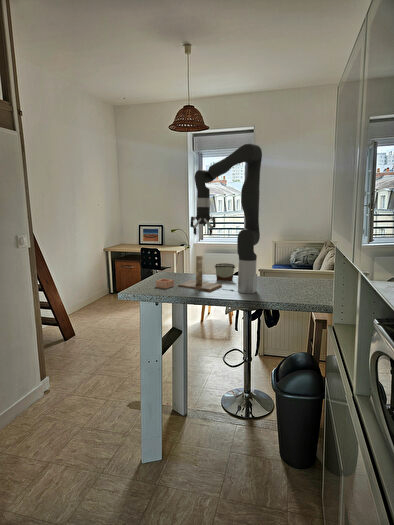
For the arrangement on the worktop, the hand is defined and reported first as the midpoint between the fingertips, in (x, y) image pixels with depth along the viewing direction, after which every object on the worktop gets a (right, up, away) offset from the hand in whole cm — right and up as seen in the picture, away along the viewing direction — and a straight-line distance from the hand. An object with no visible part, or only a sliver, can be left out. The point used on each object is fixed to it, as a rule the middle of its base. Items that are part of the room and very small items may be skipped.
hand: (202, 234), depth 203 cm
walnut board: (-2, -29, -6) cm, 30 cm away
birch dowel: (-2, -28, -7) cm, 29 cm away
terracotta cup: (-21, -30, -8) cm, 37 cm away
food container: (+14, -27, +13) cm, 33 cm away
